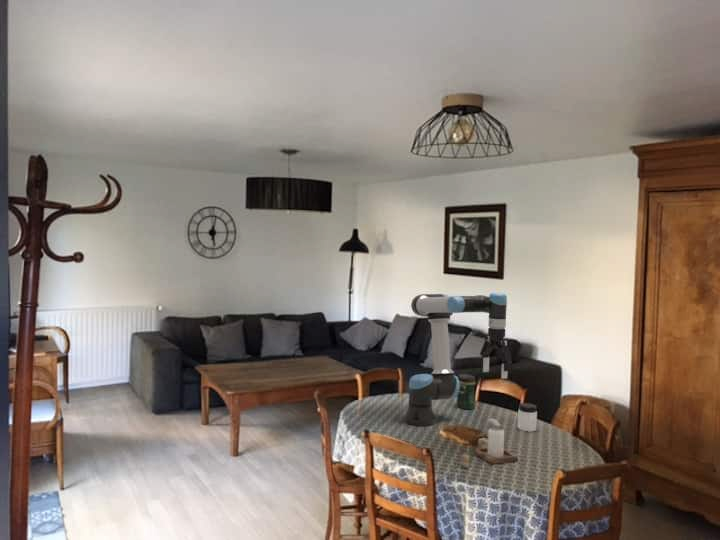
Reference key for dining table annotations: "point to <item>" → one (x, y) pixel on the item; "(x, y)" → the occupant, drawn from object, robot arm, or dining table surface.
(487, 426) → the white round disc
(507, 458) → the walnut tray
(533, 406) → the jar
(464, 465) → the cork
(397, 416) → the dining table surface
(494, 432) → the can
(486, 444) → the beech block
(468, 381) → the coffee jar
